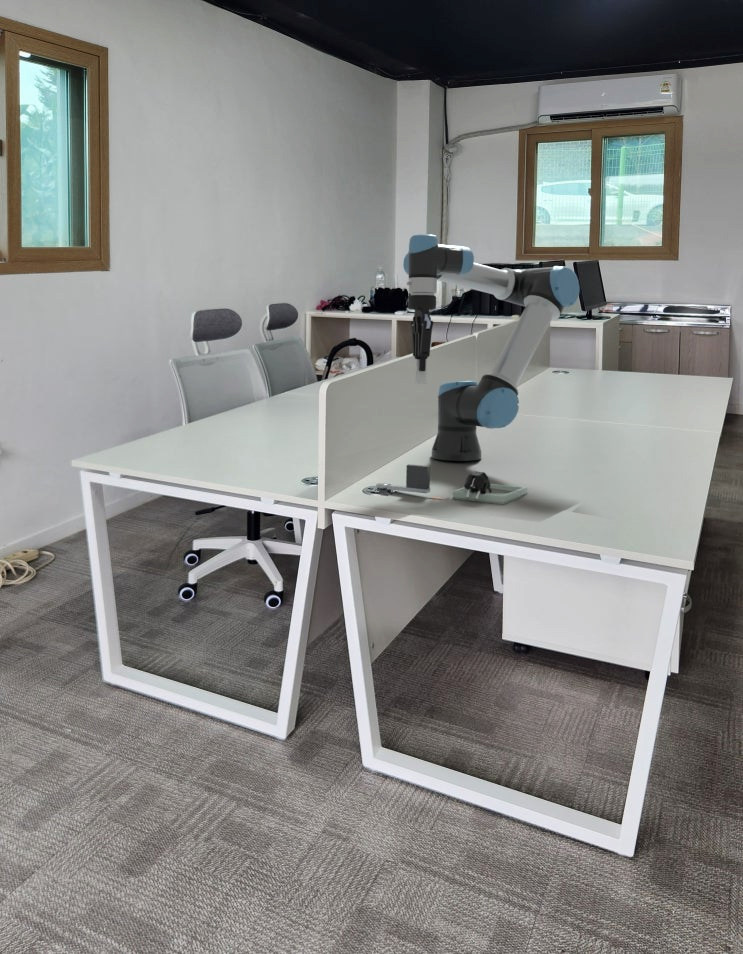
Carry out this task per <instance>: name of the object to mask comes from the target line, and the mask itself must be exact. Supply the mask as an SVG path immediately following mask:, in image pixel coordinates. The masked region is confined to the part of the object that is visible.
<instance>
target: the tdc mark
mask: <svg viewBox="0 0 743 954" xmlns="http://www.w3.org/2000/svg"><path fill="white" fill-rule="evenodd" d="M429 499H432V500H439V501H440V500H441V501H445V500H446V498H443V497H435V496H430V497H429Z"/></svg>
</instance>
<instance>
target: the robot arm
mask: <svg viewBox="0 0 743 954" xmlns="http://www.w3.org/2000/svg"><path fill="white" fill-rule="evenodd" d="M402 265H403V269H404V272H405V273H406V275H408V281H407V282H406V285H407V286H408V293H409V294H410V295H409V296H408V297H407V308H408V310H410V311H412V310H413V311H414V314H413V317H412V321H410V329H411V340H412V341H411V343H412V344H411V345H412V356H413V357H414V359H415V361H414V363H415V365H414V366H415V367H414V369H415V370H414V384H417V385H418V384H427V363H428V362H427V360H428V358H429V357H430V354H431V344H432V333H433V326H434V321H433V320H432V318H431V313H430V311H435V310H436V309H437V297H436V295H435V294H437V290H438V289H437V287H438V281H439V282H443V283H448V284H451V285H455V286H459V287H463V288H465V289H470V290H474V291H479V292H482V293H485V294H486V293H487V294H490V295H493V296H494V297H495V298H496V299H497V300H499V301H504V302H508V303H511V304H514V305H518V306H522V307H525V308H524V309H523V311H522V313H521V315H520V317H519V318H518V321H517V323H516V324H515V327H514V328H513V329H512V332H511V334H510V336H509V338H508V339H507V341H506V343H505V345H504V347H503V348H502V350H501V353H500V354H499V356H498V357H497V360H496V362H495V363H494V365H493V367H492V369H491V371H490V372H489V373H484V374H483V375H482V376H481V378H480V380H479V382H477V381H476V380H464V381H463V380H462V381H461V380H460V381H449V382H444V383H442V384H440V386H439V388H438V395H437V402H438V403H437V434H436V437H435V440H434V443H433V444H432V449H431V458H433V459H435V460H439V461H452V462H453V461H456V462H458V461H459V462H468V461H469V462H470V461H477V460H478V461H479V460H481V459H482V449H481V446H480V442H479V437H478V434H477V427H480V428H486V429H502V428H505V427H507V426H509V425H510V424H511V423H513V421H514V420H515V419H516V417H517V415H518V412H519V407H520V406H518V405H519V403H520V402H519V397H518V396H519V389H518V384H519V382H520V381H521V378H522V377H523V375H524V373H525V372H526V369H527V367H528V365H529V363H530V362H531V360H532V358H533V356H534V354H535V352H536V350H537V349H538V347H539V345H540V343H541V341H542V339H543V337H544V335H545V333H546V331H547V329H548V327H549V325H550V324H551V322H552V321H554V320H558V319H559V318H560V315H561V314H562V312H563V310H564V308H569V307H570V306H573V305H574V304H575V303H577V301H578V299H579V296H580V283H579V279H578V276H577V274H576V272H575V271H574V270H573V269H572V268H570V267H568V266H559V265H554V266H550V267H538V268H523V269H512V268H508V267H504V268H501V269H499V268H495V267H491V266H488V265H484V264H481V263H477V262H475V256H474V252H473V251H472V249H471V248H469V247H467V246H462V245H451V244H450V245H447V244H439V242H438V237H437V235H435V234H421V233H420V234H414V235H412V236H411V237H410V238H409V243H408V252H407V253H406V255H405V256H404V258H403V264H402Z"/></svg>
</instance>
